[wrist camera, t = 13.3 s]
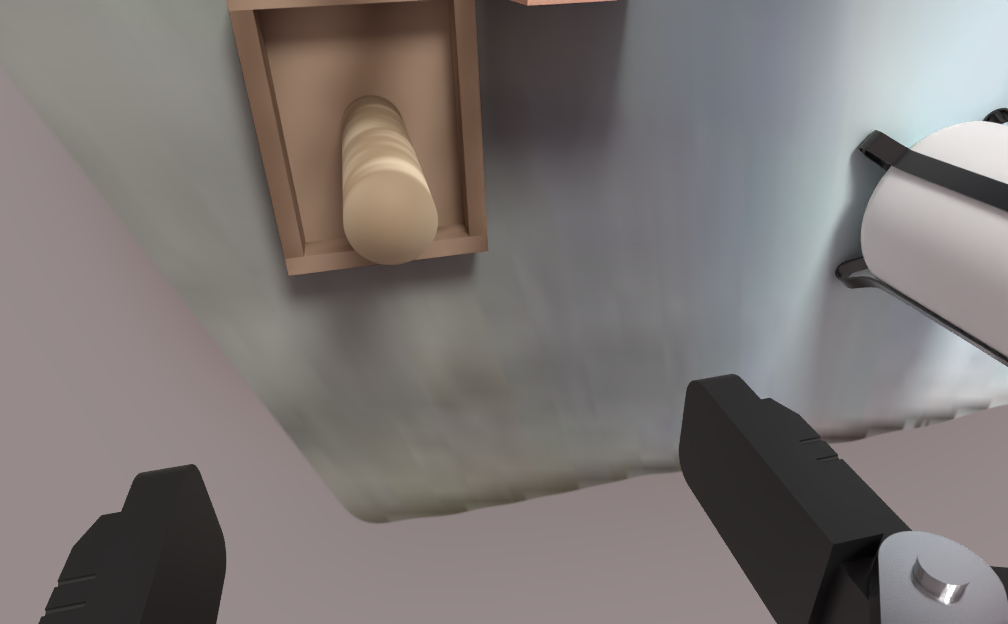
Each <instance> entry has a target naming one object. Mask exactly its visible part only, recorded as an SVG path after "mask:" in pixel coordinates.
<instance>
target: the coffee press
mask: <svg viewBox="0 0 1008 624" xmlns="http://www.w3.org/2000/svg"><path fill="white" fill-rule="evenodd" d="M1005 122H1008V108H1000V109H997V110H994V111H993V112H991V113H990V114H988V115H987V116H986V118H985V120H984V121H970V122H964V123H959V124H955V125H952V126H948V127H946V128H943V129H941V130H938V131H936V132H934V133H932V134H930V135H929V136H927V137H925V138H924V139H922V140H920V141H919V142H917V143H916V144H915V145H913V146H912V147H911V148H910V149H908V148H907V147H905V146H903V145H901V144H900V143H898V142H896V141H895V140H893V139H892V138H890V137H888V136H887V135H885V134H884V133H882V132H880V131H877V130H874V131H873V132H872V133H871V134H870V135H869V136H868V137H867V139H866V140H865V141H864V142H863V143H862V144H861V145H860V146H859V147H858V149H859V150H860V151H861V152H862V153H863V154H864V155H865V156H866V157H868V158H869V159H870V160H872V161H873V162H875V163H876V164H877V165H879V166H880V167H881V168H883V169H884V170H885V171H886V173H885V175H884V176H883V177H882V179H881V180H880V182H879V183H878V185H877V187H876V188H875V190H874V192H873V194H872V196H871V198H870V200H869V202H868V205H867V208H866V210H865V214H864V217H863V222H862V228H861V248H862V253H863V256H862V257H860V258H857V259H853V260H849V261H846V262H844V263H842V264H840V265H839V266H838V267H837V269H836V272H835V275H836V277H837V278H838V279H839V280H840V281H841V282H842V283H843V284H844V285H845V286H846V287H848V288H851V289H853V288H863V287H876V288H879V289H882V290H884V291H886V292H887V293H889V294H891V295H893V296H894V297H896V298H898V299H899V300H901V301H902V302H904V303H906V304H907V305H909V306H911V307H912V308H914V309H915V310H917V311H919V312H920V313H922V314H924V315H925V316H927V317H928V318H930V319H932V320H933V321H935V322H936V323H938V324H940V325H941V326H943V327H945V328H946V329H948V330H949V331H951V332H953V333H954V334H956V335H957V336H959V337H961V338H962V339H964V340H965V341H967V342H969V343H970V344H972V345H973V346H975V347H977V348H978V349H980V350H982V351H983V352H985V353H986V354H988V355H990V356H991V357H993V358H994V359H996V360H998V361H999V362H1001V363H1002V364H1004V365H1006V366H1007V367H1008V126H1006V125H1002V124H1003V123H1005ZM868 268H869V270H870V271H871V273H872V274H873V275H874V276H875V277H876V278H877V279H878V280H879V281H880V282H879V281H877V280H875V279H873V278H871V277H865V276H859V277H850V278H848V276H849V275H850V274H852V273H854V272H857V271H860V270H864V269H868Z"/></svg>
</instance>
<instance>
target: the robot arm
mask: <svg viewBox="0 0 1008 624" xmlns="http://www.w3.org/2000/svg"><path fill="white" fill-rule="evenodd" d="M679 459H680V465H681V469H682V472H683V475H684V477H685V480H686V482H687V484H688V485H689V487H690V489H691V490H692V492H693V493H694V495H695V496H696V498H697V499H698V501H699V503H700V504H701V506H702V507H703V509H704V510H705V512H706V514H707V515H708V516H709V518H710V520H711V521H712V523H713V525H714V526H715V527H716V529H717V531H718V532H719V534H720V535H721V537H722V538H723V540H724V542H725V543H726V545H727V546H728V548H729V549H730V551H731V553H732V554H733V556H734V557H735V559H736V560H737V562H738V564H739V565H740V566H741V568H742V570H743V571H744V573H745V574H746V576H747V578H748V579H749V581H750V582H751V584H752V585H753V587H754V588H755V590H756V592H757V593H758V595H759V596H760V598H761V599H762V601H763V603H764V604H765V606H766V607H767V609H768V610H769V612H770V613H771V615H772V617H773V618H774V620H775V621H776V623H777V624H1008V568H1004V567H993V566H989V565H988V564H987V563H986V562H985V561H984V560H982V559H981V558H980V557H978V556H977V555H976V554H975V553H973V552H972V551H970V550H969V549H967V548H966V547H964V546H962V545H960V544H958V543H956V542H954V541H952V540H950V539H947V538H945V537H942V536H939V535H935V534H932V533H927V532H919V531H912V530H911V529H910V528H909V527H908V526H907V525H906V524H905V523H904V522H903V521H902V520H901V519H900V518H899V517H898V516H897V515H896V514H895V513H894V512H893V511H892V510H891V509H890V508H889V507H888V506H887V505H886V504H885V502H884V501H882V499H881V498H880V497H879V496H878V495H877V494H876V493H875V492H874V491H873V490H872V489H871V488H870V487H869V486H868V485H867V484H866V483H865V482H864V481H863V480H862V479H861V478H860V477H859V476H858V475H857V474H856V473H855V472H854V471H853V470H852V469H851V468H850V467H849V466H848V464H847V463H846V462H845V461H844V460H843V459H840V460H839V459H838V454H837V453H836V452H835V451H834V450H833V449H832V448H831V447H830V446H829V445H828V444H827V443H826V442H825V441H821V439H820V436H819V435H818V434H817V433H816V432H815V431H814V430H813V429H812V427H811V426H810V425H809V424H808V423H807V422H806V421H805V420H804V419H803V418H802V417H801V416H800V415H799V414H797V413H795V412H793V411H792V410H790V409H788V408H787V407H785V406H783V405H781V404H780V403H778V402H776V401H774V400H773V399H771V398H766V399H760V398H759V397H758V396H757V395H756V394H755V393H754V391H753V390H752V389H751V388H750V387H749V386H748V385H747V384H746V383H745V382H744V381H743V380H742V379H741V378H740V377H739V376H737V375H735V374H729V375H723V376H717V377H712V378H706V379H700V380H694V381H691V382H690V383H689V385H688V387H687V391H686V398H685V405H684V413H683V421H682V428H681V436H680V444H679ZM225 572H226V548H225V541H224V536H223V533H222V530H221V527H220V525H219V522H218V519H217V516H216V514H215V511H214V508H213V506H212V503H211V501H210V498H209V495H208V492H207V490H206V487H205V484H204V482H203V479H202V476H201V474H200V471H199V470H198V468H197V467H196V466H195V465H193V464H190V465H184V466H178V467H172V468H166V469H160V470H154V471H149V472H142V473H139V474H138V475H137V476H136V477H135V479H134V481H133V483H132V485H131V488H130V490H129V493H128V495H127V498H126V501H125V503H124V506H123V508H122V511H121V512H117V513H112V514H106V515H102V516H100V517H99V519H98V520H97V521H96V522H95V523H94V524H93V525H92V526H91V527H90V528H89V530H88V531H87V532H86V533H85V534H84V535H83V536H82V537H81V538H80V540H79V541H78V542H77V543H76V544H75V545H74V546H73V548H72V550H71V553H70V554H69V557H68V559H67V561H66V564H65V566H64V568H63V570H62V572H61V575H60V577H59V579H58V587H55V588H54V590H53V592H52V595H51V597H50V599H49V601H48V604H47V606H46V608H45V611H46V614H45V616H43V617H41V619H40V622H39V624H216V621H217V615H218V611H219V605H220V600H221V595H222V589H223V584H224V578H225Z"/></svg>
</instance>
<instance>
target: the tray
mask: <svg viewBox="0 0 1008 624" xmlns="http://www.w3.org/2000/svg"><path fill="white" fill-rule="evenodd" d="M226 1H227V5H228V9H229V14H230V18H231V23H232V27H233V32H234V36H235V40H236V45H237V49H238V54H239V58H240V63H241V67H242V71H243V76H244V80H245V85H246V89H247V94H248V98H249V102H250V107H251V111H252V116H253V120H254V125H255V129H256V134H257V138H258V142H259V147H260V151H261V156H262V160H263V165H264V169H265V173H266V178H267V182H268V187H269V191H270V196H271V200H272V204H273V209H274V213H275V218H276V222H277V227H278V231H279V236H280V240H281V244H282V249H283V253H284V258H285V262H286V267H287V271H288V275H289V276H290V275H298V274H306V273H314V272H322V271H330V270H338V269H346V268H354V267H362V266H370V265H378V263H375V262H372V261H370V260H368V259H366V258H364V257H363V256H361V255H360V254H359V253H358V252H357V251H356V250H355V249H354V248H353V247H352V246H351V244H350V243H349V241H348V239H347V237H346V234H345V231H344V225H343V179H342V118H343V114H344V112H345V110H346V108H347V107H348V106H349V105H350V103H352V102H353V101H354V100H356V99H357V98H360V97H363V96H367V95H375V96H380V97H383V98H385V99H387V100H389V101H390V102H391V103H393V104H394V105H395V106H396V108H397V109H398V110H399V112H400V114H401V116H402V119H403V122H404V124H405V127H406V130H407V132H408V135H409V138H410V140H411V143H412V145H413V148H414V151H415V153H416V156H417V159H418V161H419V164H420V167H421V169H422V172H423V175H424V177H425V180H426V183H427V185H428V188H429V191H430V193H431V196H432V199H433V201H434V204H435V207H436V210H437V215H438V227H437V232H436V235H435V237H434V240H433V241H432V243H431V245H430V246H429V247H428V249H427V250H426V251H425V252H424V253H422V254H421V255H420V256H419V257H417V258H415V259H414V260H419V259H427V258H435V257H443V256H451V255H459V254H467V253H475V252H483V251H488V240H487V221H486V202H485V182H484V163H483V144H482V125H481V105H480V86H479V67H478V48H477V28H476V9H475V0H226Z"/></svg>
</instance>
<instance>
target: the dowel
mask: <svg viewBox="0 0 1008 624" xmlns="http://www.w3.org/2000/svg"><path fill="white" fill-rule="evenodd" d="M342 179H343V225H344V231H345V234H346V237H347V239H348V241H349V243H350V244H351V246H352V247H353V248H354V249H355V250H356V251H357V252H358V253H359V254H360V255H361V256H363V257H364V258H366V259H368V260H370V261H372V262H375V263H378V264H384V265H398V264H403V263H406V262H409V261H411V260H414V259H415V258H417V257H419V256H420V255H421V254H422V253H424V252H425V251H426V250H427V249H428V247H429V246H430V245H431V243H432V241H433V240H434V237H435V235H436V232H437V227H438V215H437V210H436V207H435V204H434V201H433V199H432V196H431V193H430V191H429V188H428V185H427V183H426V180H425V177H424V175H423V172H422V169H421V167H420V164H419V161H418V159H417V156H416V153H415V151H414V148H413V145H412V143H411V140H410V138H409V135H408V132H407V130H406V127H405V124H404V122H403V119H402V116H401V114H400V112H399V110H398V109H397V108H396V106H395V105H394V104H393V103H391V102H390V101H389V100H387V99H385V98H383V97H380V96H375V95H367V96H363V97H360V98H357V99H356V100H354V101H353V102H352V103H350V105H349V106H348V107H347V108H346V110H345V112H344V114H343V118H342Z"/></svg>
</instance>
